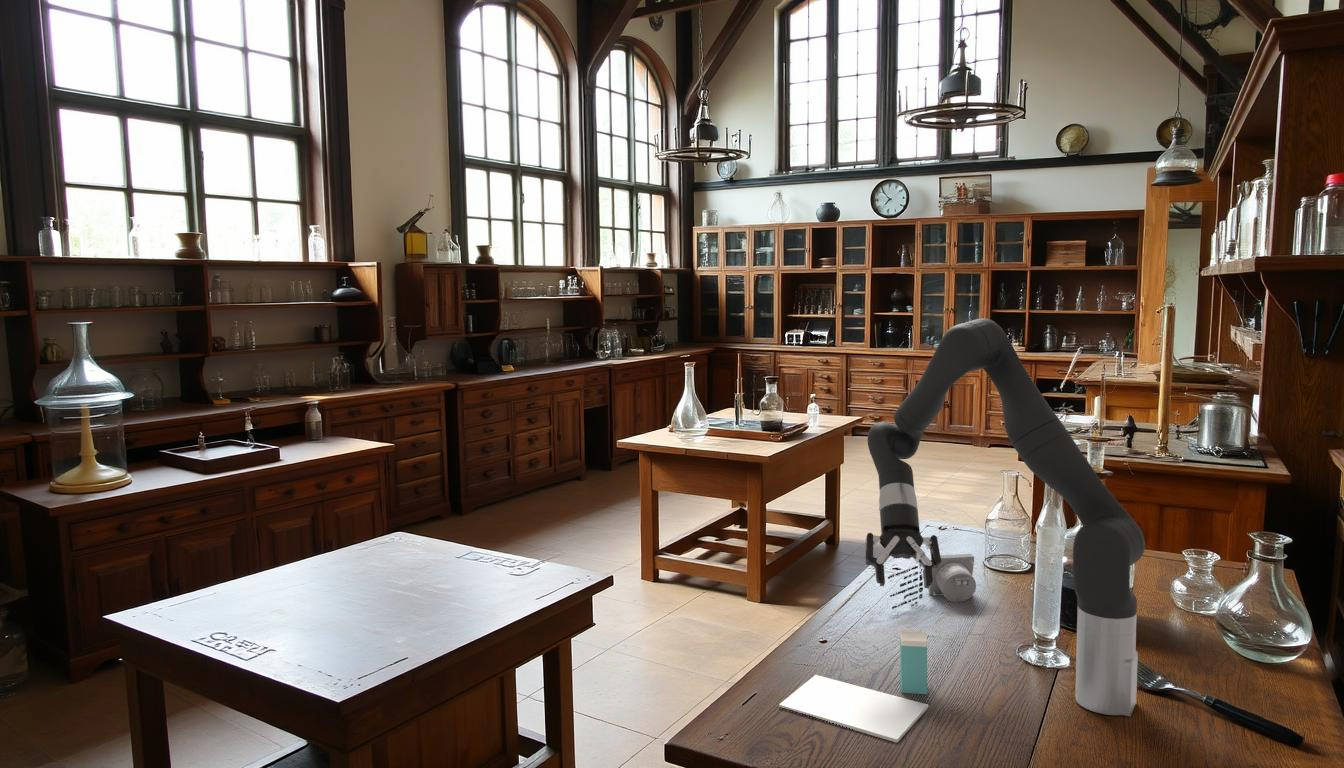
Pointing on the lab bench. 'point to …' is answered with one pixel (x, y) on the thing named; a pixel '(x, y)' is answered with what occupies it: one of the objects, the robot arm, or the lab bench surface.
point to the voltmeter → (946, 579)
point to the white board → (856, 707)
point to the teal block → (913, 662)
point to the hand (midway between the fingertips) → (905, 585)
